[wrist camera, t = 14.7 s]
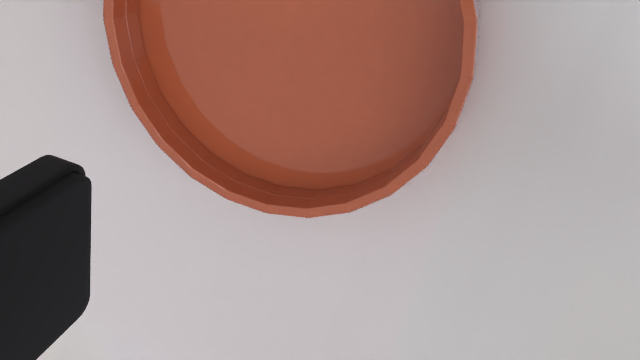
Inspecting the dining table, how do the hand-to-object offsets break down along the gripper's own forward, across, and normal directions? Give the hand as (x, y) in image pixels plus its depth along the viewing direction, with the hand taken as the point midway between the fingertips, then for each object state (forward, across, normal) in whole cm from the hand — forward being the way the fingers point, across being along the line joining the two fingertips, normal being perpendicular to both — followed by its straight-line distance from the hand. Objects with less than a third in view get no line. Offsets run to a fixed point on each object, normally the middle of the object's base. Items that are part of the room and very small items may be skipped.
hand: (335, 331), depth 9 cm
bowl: (+22, +8, +2) cm, 24 cm away
